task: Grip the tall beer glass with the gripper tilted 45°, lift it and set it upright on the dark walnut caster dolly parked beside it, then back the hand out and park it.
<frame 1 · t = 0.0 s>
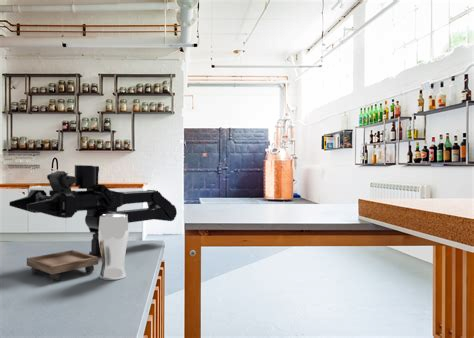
hand: (18, 205, 99), 17 cm above the counter, tool horizontal, fingers open, 9 cm apart
walnut dolly: (62, 272, 99), on the counter
beer glass: (112, 277, 96), on the counter
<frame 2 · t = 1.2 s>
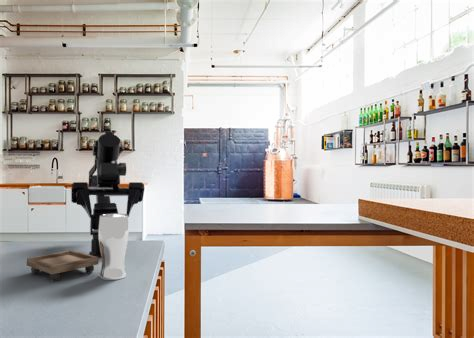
hand: (109, 216, 103), 14 cm above the counter, tool tilted 45°, fingers open, 9 cm apart
nothing on the counter moved.
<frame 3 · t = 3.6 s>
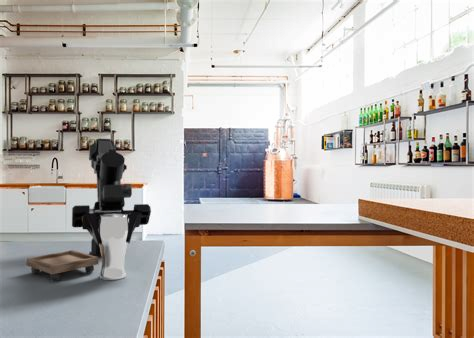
hand: (114, 243, 95), 8 cm above the counter, tool tilted 45°, fingers closed on beer glass, 7 cm apart
beer glass: (112, 277, 96), on the counter, touching gripper
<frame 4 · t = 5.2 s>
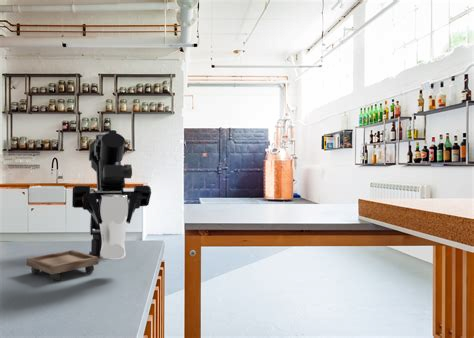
hand: (114, 223, 95), 13 cm above the counter, tool tilted 45°, fingers closed on beer glass, 7 cm apart
beer glass: (112, 257, 96), point 5 cm above the counter, touching gripper
when the fingers open (12 cm above the counter, at t = 7.2 s): beer glass stays where it is, resting on walnut dolly.
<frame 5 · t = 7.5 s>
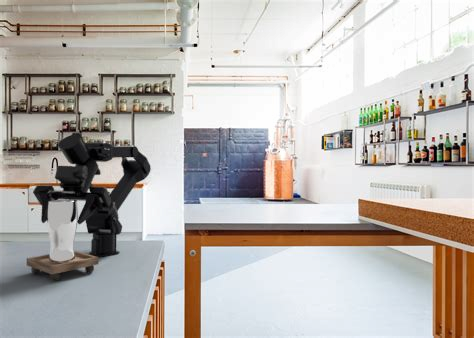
hand: (60, 222, 97), 13 cm above the counter, tool tilted 45°, fingers open, 9 cm apart
beer glass: (62, 261, 99), point 3 cm above the counter, touching walnut dolly
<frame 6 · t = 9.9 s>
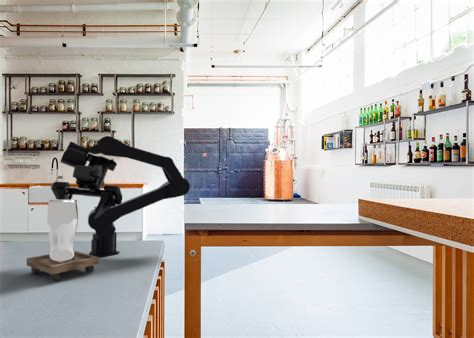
hand: (77, 217, 106), 13 cm above the counter, tool tilted 45°, fingers open, 9 cm apart
nothing on the counter moved.
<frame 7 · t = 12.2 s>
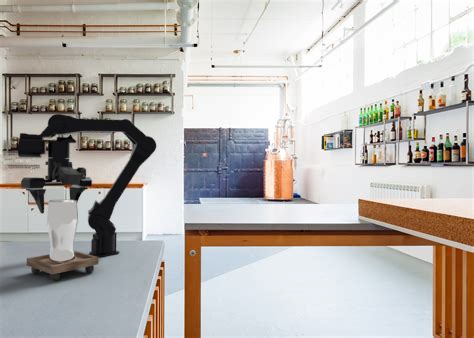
hand: (57, 212, 115), 13 cm above the counter, tool pointing down, fingers open, 9 cm apart
nothing on the counter moved.
at the end: beer glass inside the target area on the walnut dolly (0.4 cm from its centre), point 2.8 cm above the walnut dolly's base; beer glass tilted 0°; the gripper is holding nothing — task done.
